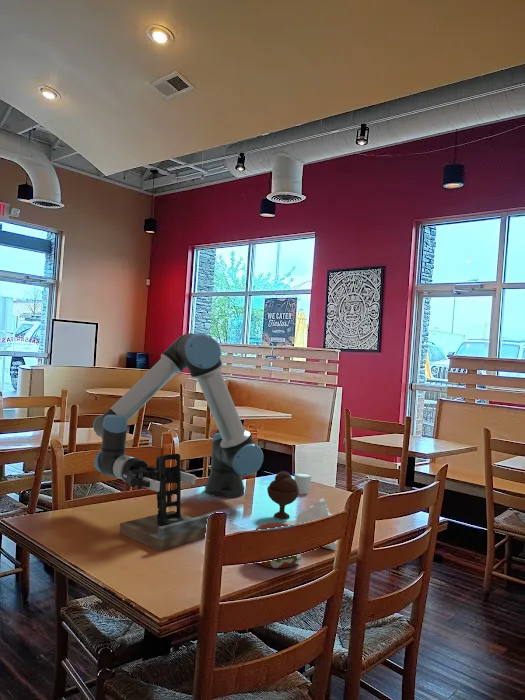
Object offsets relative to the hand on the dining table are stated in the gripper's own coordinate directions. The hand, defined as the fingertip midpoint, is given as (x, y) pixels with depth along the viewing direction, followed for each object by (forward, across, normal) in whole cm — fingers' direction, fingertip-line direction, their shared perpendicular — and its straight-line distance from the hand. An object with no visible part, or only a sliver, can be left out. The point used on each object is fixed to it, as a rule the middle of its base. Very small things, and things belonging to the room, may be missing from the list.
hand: (177, 483), depth 160 cm
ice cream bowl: (+8, -41, -16) cm, 45 cm away
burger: (+31, -8, -16) cm, 36 cm away
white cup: (-7, -74, -16) cm, 76 cm away
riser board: (-3, 0, -16) cm, 16 cm away
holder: (-3, 0, -13) cm, 13 cm away
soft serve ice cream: (+30, -28, -16) cm, 44 cm away
